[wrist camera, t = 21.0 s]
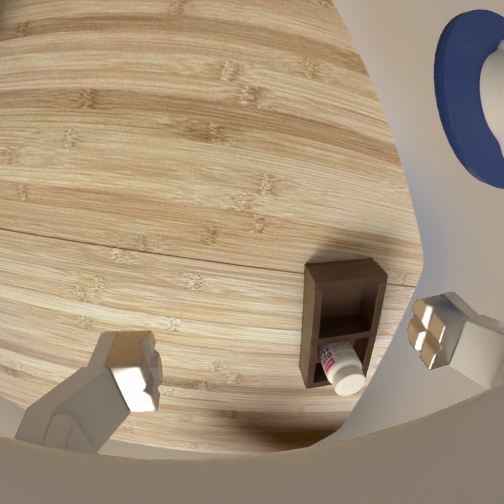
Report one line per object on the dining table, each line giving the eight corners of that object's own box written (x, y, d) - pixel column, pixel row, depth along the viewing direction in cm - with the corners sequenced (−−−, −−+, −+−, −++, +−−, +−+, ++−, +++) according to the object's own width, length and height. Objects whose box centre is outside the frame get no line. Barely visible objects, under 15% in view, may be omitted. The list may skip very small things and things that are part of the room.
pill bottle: (315, 333, 42) (333, 376, 34) (348, 326, 42) (371, 367, 34) (315, 358, 44) (331, 401, 36) (346, 351, 44) (366, 392, 36)
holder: (304, 264, 38) (315, 282, 34) (372, 257, 39) (388, 274, 35) (299, 366, 45) (305, 388, 41) (355, 357, 46) (365, 377, 42)
